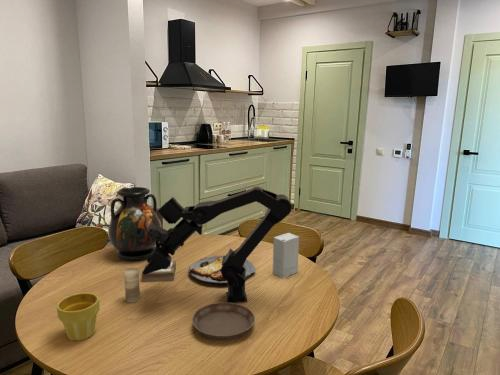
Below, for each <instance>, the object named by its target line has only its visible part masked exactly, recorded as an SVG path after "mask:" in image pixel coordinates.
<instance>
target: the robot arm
mask: <svg viewBox="0 0 500 375" xmlns="http://www.w3.org/2000/svg"><path fill="white" fill-rule="evenodd" d="M255 202H256V203H257V204H261V205H262V206H264V207H266V208H267V209H266V212H265V213H264V216H263V217H262V218H261V219H260V221H259V222H258V223H257V224H256V225H255V226H254V227H253V229H252V230H251V231H250V233H249V234H248V236H246V238H245V239H244V240H243V242H242V243H241V244H240V245H239V246H238V247H237V248H236V249H235V250H233V249H232V248H229V250H228V252H227V253H226V254H224V255H225V256H223V260H222V268H221V274H222V276H223V277H224V278H225V279H226V280H227V283H228V284H227V283H226V284H227V291H226V292H225V294H226V295H225V296H226V303H244V302H248V297H247V292H246V277H247V276H246V269H245V268H244V267H243V265H244V263H245V261H246V260H248V259H247V258H249V256H250V255H251V254H252V253H253V252H254V250H255V249H256V248H257V247H258V245H259V244H260V243H261V242H262V240H264V239H265V237H266V236H267V235H268V233H269V232H270V231H271V229H272V228H273V227H274V226H275V225H276V224H278V223H280V222H282V221H283V220H285V219H286V218H287V217H288V216H289V215H290V214H291V212H292V210H293V209H292V208H293V207H292V203H291V201H290V198H289V196H287V195H285V194H282V193H281V194H277V193H275V192H272V191H270V190H267V189H264V188H262V187H260V186H254V187H252V188H251V189H247V190H245V191H242V192H238V193H237V194H233V195H230V196H227V197H224V198H222V199H221V198H220V199H218V200H217V199H216V200H207V201H206V200H205V201H201V202H198V203H196V204H195V205H192V206H190V205H189V206H185V207H184V206H182V205H181V204H180V203H179V202H178V201H177V199H176V198H175V197H173V196H172V197H171V198H169V200H168V201H166V202H165V203H163V205H161V207H160V208H159V209H157V215H158V214H159V216H160V217H161V218H162V219H164V221H166V222H167V223H168V225H170V224H171V225H173V224H174V225H175V224H176V225H175V226H174V227H170V228H169V229H165V228H164V227H162V228H161V227H159V226H156V225H154V224H151V225H150V227H149V229H148V231H147V234H146V237H147V238H151V239H153V240H156V246H155V249H154V250H153V252H152V253H151V255H150V256H149V258H147V259H146V262H148V265H147V266H146V268H145V267H144V268H145V269H144V268H143V270H142V271H141V272H142V273H143V274H144V275H146V274H149V273H151V272H154V271H157V270H161V269H167V268H168V267H169V266H170V265H171V261H172V256H174V255H175V254H176V251H178V250H179V248H180V247H181V248H182V247H184V245H185V242H186V241H187V240H188V239H189V238H191V237H192V235H193V234H194V233H196V232H197V234H199V236H201V235H202V234H203V227H204V225H205V224H207V223H209V222H211V221H212V220H214V219H216V217H218V216H220V215H221V214H224V213H227V212H230V211H232V210H236V209H238V208H241V207H244V206H247V205H250V204H253V203H255ZM180 219H181V220H180ZM142 273H141V274H142ZM245 276H246V277H245Z"/></svg>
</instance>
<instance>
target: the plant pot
mask: <svg viewBox="0 0 500 375" xmlns="http://www.w3.org/2000/svg"><path fill="white" fill-rule="evenodd" d="M99 312H100V297H99V296H98V294H95V293H92V292H77V293H73V294H70V295H68V296H65V297H64V298H62V299H61V300H59V301H58V302H57V304H56V314H57V318H58V320H59V321H61V322H62V325H63V327H64V330H65V333H66V335H67V338H68V339H69V340H70V339H72V340H71V341H73V340H80V341H83V340H82V339H84V340H87V339H88V337H89V338H90V337H92V336H93V335H94V333H95V331H96V330H95V329H96V323H97V315H98V314H99ZM92 334H93V335H92ZM91 335H92V336H91ZM86 338H87V339H86Z"/></svg>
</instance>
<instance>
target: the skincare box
mask: <svg viewBox="0 0 500 375" xmlns="http://www.w3.org/2000/svg"><path fill="white" fill-rule="evenodd" d="M272 243H273V245H272V246H273V247H272V248H273V250H272V252H273V254H272V274H274V275H276V276H278V277H280V278H282V279H284V278H287V277H289V276H291V275H294V274H297V273H298V272H299V271H298V270H299V251H300V250H299V249H300V236H298V235H295V234H294V233H293V234H292V233H291V232H287V233H283V234H280V235H277V236H274V237H273V242H272Z"/></svg>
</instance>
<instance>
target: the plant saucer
mask: <svg viewBox="0 0 500 375" xmlns="http://www.w3.org/2000/svg"><path fill="white" fill-rule="evenodd" d="M191 320H192V325H193V327H194V328H195V330H197V332H199V334H201V335H202V336H203V337H205V338H208V339H209V340H213V341H217V342H218V341H220V342H221V341H222V342H224V341H225V342H227V341H232V340H236V339H238V338H240V337H242V336H244V335H245V334H246V333H248V331H250V329H251V328H252V326H253V325H254V323H255V320H256V319H255V314H254V313H253V312H252V310H250V308H247V306H244V305H241V304H238V303H235V302H215V303H211V304H207V305H205V306H203V307H200V308H199V309H197V311H196V312H195V313H194V314H193V315H192V319H191Z"/></svg>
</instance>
